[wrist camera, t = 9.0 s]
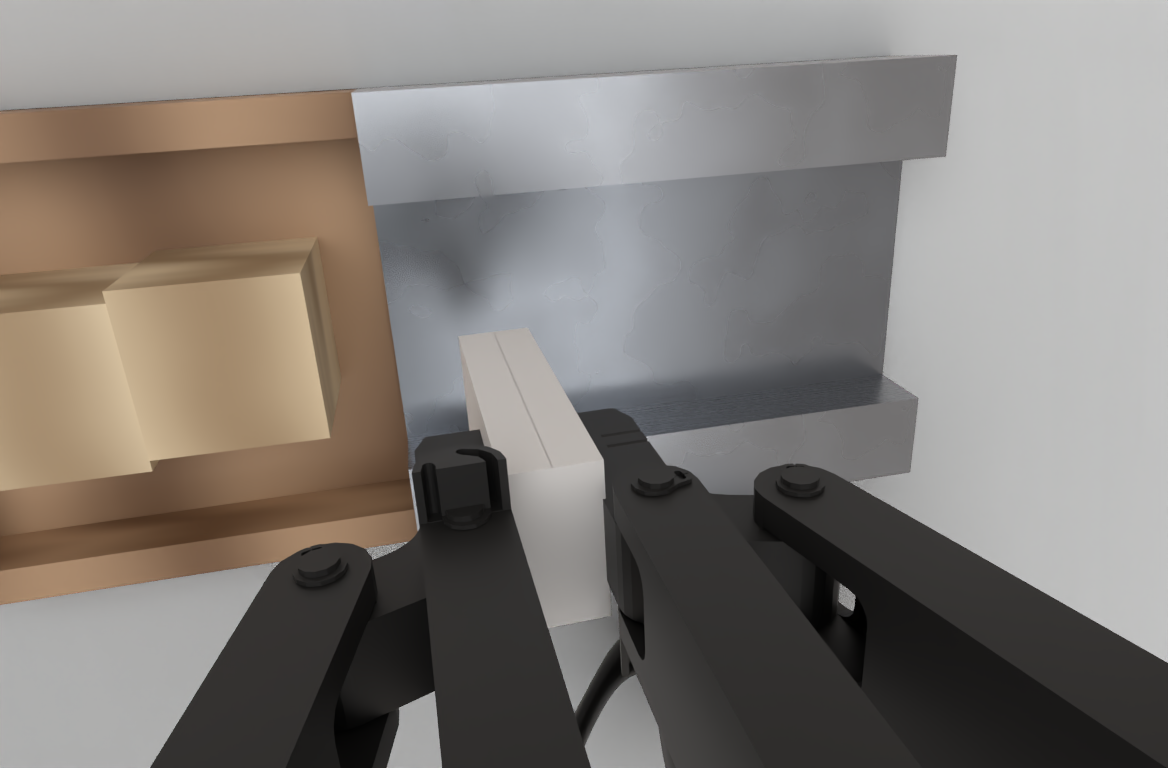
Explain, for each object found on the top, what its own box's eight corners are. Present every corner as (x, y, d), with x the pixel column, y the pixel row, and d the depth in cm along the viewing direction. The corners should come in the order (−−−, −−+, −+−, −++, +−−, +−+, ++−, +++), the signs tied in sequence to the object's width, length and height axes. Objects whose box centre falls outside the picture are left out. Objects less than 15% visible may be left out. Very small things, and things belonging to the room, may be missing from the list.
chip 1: (33, 423, 22) (-42, 496, 18) (-16, 276, 20) (-108, 324, 16) (192, 404, 22) (152, 471, 19) (157, 261, 21) (105, 303, 17)
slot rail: (418, 496, 25) (420, 549, 23) (357, 88, 21) (351, 92, 18) (860, 432, 28) (909, 472, 25) (892, 55, 23) (957, 54, 21)
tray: (-25, 561, 23) (-71, 615, 21) (-199, 122, 19) (-282, 131, 16) (418, 496, 25) (419, 539, 23) (357, 88, 21) (352, 92, 19)
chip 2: (191, 395, 22) (149, 461, 19) (154, 250, 21) (102, 291, 17) (341, 378, 23) (330, 438, 19) (317, 236, 21) (300, 273, 18)
